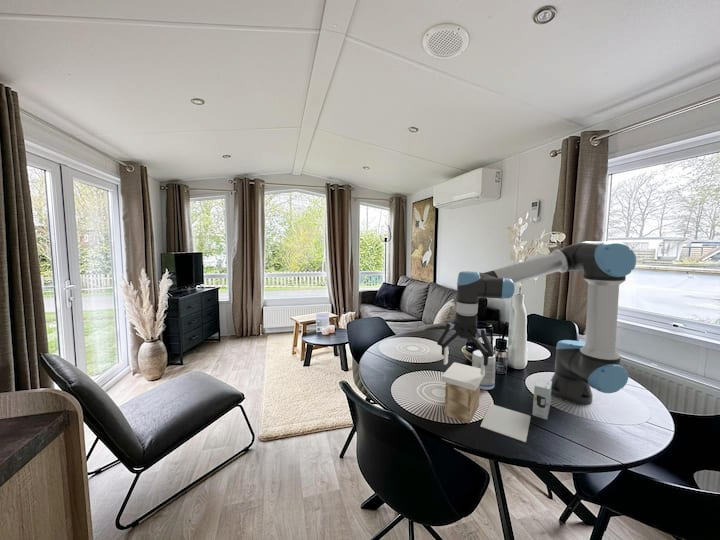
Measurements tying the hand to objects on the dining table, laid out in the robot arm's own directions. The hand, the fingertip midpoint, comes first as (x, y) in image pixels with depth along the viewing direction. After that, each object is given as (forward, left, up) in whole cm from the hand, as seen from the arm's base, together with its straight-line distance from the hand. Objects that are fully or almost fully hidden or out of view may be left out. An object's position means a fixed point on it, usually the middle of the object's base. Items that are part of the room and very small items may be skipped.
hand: (463, 368), depth 110 cm
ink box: (-25, -16, -17) cm, 34 cm away
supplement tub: (-2, -25, -17) cm, 30 cm away
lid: (0, 0, -4) cm, 4 cm away
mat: (-15, -2, -17) cm, 23 cm away
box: (0, 0, -17) cm, 17 cm away
